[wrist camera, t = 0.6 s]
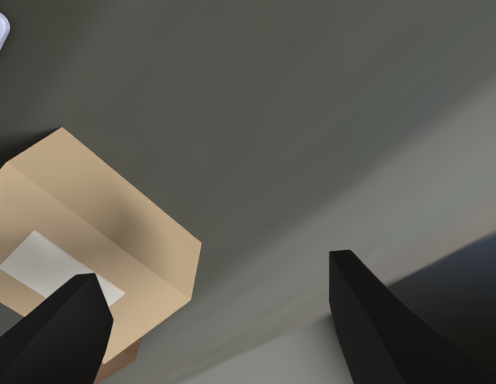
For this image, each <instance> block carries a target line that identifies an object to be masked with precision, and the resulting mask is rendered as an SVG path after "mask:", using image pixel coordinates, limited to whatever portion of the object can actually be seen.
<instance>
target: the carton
mask: <svg viewBox="0 0 496 384" xmlns="http://www.w3.org/2000/svg"><path fill="white" fill-rule="evenodd" d="M201 244H202V243H201V242H200V241H198V240H197V239H196V238H195V237H194V236H192V235H191V234H190V233H189V232H188V231H186V230H185V229H184V228H183V227H182V226H180V225H179V224H178V223H177V222H175V221H174V220H173V219H172V218H171V217H169V216H168V215H167V214H166V213H165V212H163V211H162V210H161V209H160V208H159V207H157V206H156V205H155V204H154V203H153V202H151V201H150V200H149V199H148V198H147V197H145V196H144V195H143V194H142V193H141V192H139V191H138V190H137V189H136V188H135V187H133V186H132V185H131V184H130V183H129V182H127V181H126V180H125V179H124V178H123V177H121V176H120V175H119V174H118V173H117V172H115V171H114V170H113V169H112V168H111V167H109V166H108V165H107V164H106V163H105V162H103V161H102V160H101V159H100V158H99V157H97V156H96V155H95V154H94V153H93V152H91V151H90V150H89V149H88V148H87V147H85V146H84V145H83V144H82V143H81V142H79V141H78V140H77V139H76V138H75V137H73V136H72V135H71V134H70V133H69V132H67V131H66V130H65V129H64V128H63V127H61V128H60V129H58V130H57V131H55V132H54V133H52V134H50V135H49V136H47V137H46V138H44V139H42V140H41V141H39V142H38V143H36V144H35V145H33V146H31V147H30V148H28V149H27V150H25V151H24V152H22V153H20V154H19V155H17V156H16V157H14V158H12V159H11V160H9V161H8V162H6V163H5V165H4V166H3V167H2V168H1V169H0V302H1V303H2V304H4V305H6V306H7V307H9V308H11V309H12V310H14V311H16V312H17V313H19V314H21V315H23V316H24V317H25V316H26V315H28V314H29V313H30V312H31V311H32V310H34V309H35V308H36V307H37V306H38V305H39V304H41V303H42V302H43V301H44V300H45V299H46V298H48V297H49V296H50V295H51V294H52V293H53V292H55V291H56V290H57V289H58V288H59V287H61V286H62V285H63V284H64V283H66V282H67V281H68V280H69V279H71V278H72V277H73V276H75V275H76V274H86V273H95V274H96V276H97V279H98V281H99V284H100V286H101V289H102V291H103V294H104V296H105V299H106V301H107V304H108V307H109V309H110V312H111V314H112V317H113V319H114V322H113V326H112V330H111V334H110V338H109V342H108V346H107V349H106V353H105V355H104V358H103V361H102V363H103V364H105V363H107V362H108V361H109V360H111V359H112V358H113V357H115V356H116V355H117V354H119V353H120V352H121V351H123V350H124V349H125V348H127V347H128V346H129V345H131V344H132V343H134V342H135V341H136V340H138V339H139V338H140V337H142V336H143V335H144V334H146V333H147V332H148V331H150V330H151V329H152V328H154V327H155V326H156V325H158V324H159V323H161V322H162V321H163V320H165V319H166V318H167V317H169V316H170V315H171V314H173V313H174V312H175V311H177V310H178V309H179V308H181V307H182V306H183V305H185V304H186V303H187V302H189V301H190V300H191V296H192V291H193V285H194V280H195V275H196V270H197V265H198V259H199V254H200V249H201Z"/></svg>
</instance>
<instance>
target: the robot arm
mask: <svg viewBox="0 0 496 384" xmlns="http://www.w3.org/2000/svg"><path fill="white" fill-rule="evenodd" d="M9 31H10V25H9V22H8V20H7V18H6V17H5V16H4V15H3V14H1V13H0V49H1V47H2V45H3V43H4V41H5V39H6V37H7V35H8V33H9ZM329 303H330V308H331V312H332V317H333V321H334V325H335V329H336V334H337V337H338V339H339V343H340V345H341V348H342V351H343V354H344V357H345V360H346V363H347V365H348V368H349V371H350V374H351V377H352V380H353V383H354V384H496V373H495V372H494V371H492V370H491V369H489V368H488V367H486V366H484V365H483V364H481V363H480V362H478V361H477V360H475V359H474V358H473V357H471V356H470V355H468V354H467V353H465V352H464V351H462V350H461V349H460V348H458V347H457V346H456V345H454V344H453V343H452V342H450V341H449V340H448V339H446V338H445V337H444V336H442V335H441V334H440V333H439V332H437V331H436V330H435V329H433V328H432V327H431V326H430V325H429V324H427V323H426V322H425V321H424V320H423V319H421V318H420V317H419V316H418V315H417V314H415V313H414V312H413V311H412V310H411V309H410V308H409V307H407V306H406V305H405V304H404V303H403V302H402V301H401V300H400V299H399V298H398V297H397V296H396V295H395V294H393V293H392V292H391V291H390V290H389V289H388V288H387V287H386V286H385V285H384V284H383V283H382V282H381V281H380V280H379V279H378V278H377V277H376V276H375V275H374V274H373V273H372V272H371V271H370V270H369V269H368V268H367V267H366V266H365V265H364V264H363V262H362V261H361V260H360V259H359V258H358V257H357V256H356V255H355V254H354V253H353V252H352V251H351V250H340V251H329ZM113 322H114V319H113V317H112V314H111V312H110V309H109V307H108V304H107V301H106V299H105V296H104V294H103V291H102V289H101V286H100V284H99V281H98V279H97V276H96V274H95V273H86V274H76V275H75V276H73V277H72V278H71V279H69V280H68V281H67V282H66V283H64V284H63V285H62V286H61V287H59V288H58V289H57V290H56V291H55V292H53V293H52V294H51V295H50V296H49V297H48V298H46V299H45V300H44V301H43V302H42V303H41V304H39V305H38V306H37V307H36V308H35V309H34V310H32V311H31V312H30V313H29V314H28V315H26V316H25V317H24V318H23V319H22V320H20V321H19V322H18V323H17V324H16V325H15V326H13V327H12V328H11V329H10V330H8V331H7V332H6V333H5V334H3V335H2V336H1V337H0V384H93V383H94V381H95V378H96V376H97V373H98V371H99V368H100V366H101V363H102V361H103V358H104V355H105V353H106V349H107V346H108V342H109V338H110V334H111V330H112V326H113Z"/></svg>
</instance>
